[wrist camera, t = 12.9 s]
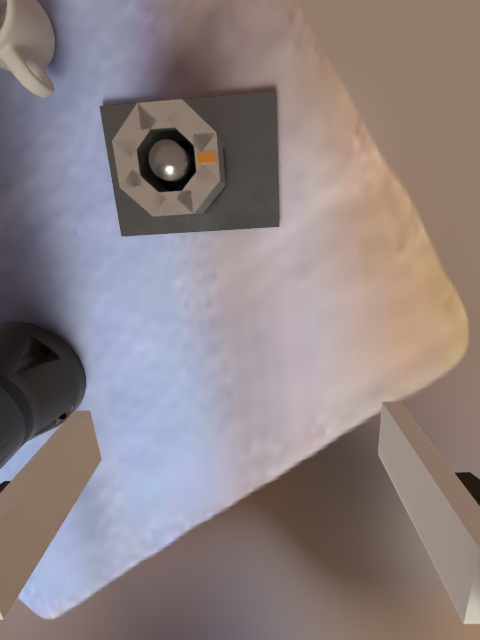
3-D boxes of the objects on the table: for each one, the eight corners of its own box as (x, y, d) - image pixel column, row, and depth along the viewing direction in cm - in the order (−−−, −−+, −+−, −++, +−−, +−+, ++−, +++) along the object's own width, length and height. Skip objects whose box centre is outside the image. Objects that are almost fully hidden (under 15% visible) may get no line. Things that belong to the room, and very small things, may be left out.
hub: (145, 217, 36) (123, 218, 30) (131, 123, 33) (105, 104, 27) (227, 211, 36) (222, 211, 30) (220, 115, 33) (213, 95, 27)
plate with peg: (124, 235, 39) (92, 242, 31) (103, 108, 35) (60, 80, 27) (278, 226, 38) (284, 230, 30) (275, 93, 34) (281, 59, 26)
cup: (99, 85, 34) (55, 50, 27) (41, 129, 36) (-16, 108, 28) (31, -30, 31) (-40, -106, 24) (-29, 23, 33) (-114, -33, 25)
